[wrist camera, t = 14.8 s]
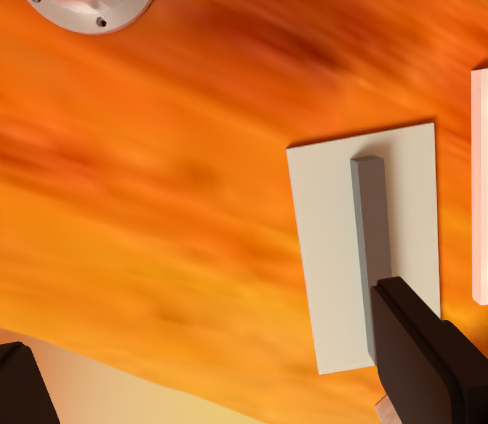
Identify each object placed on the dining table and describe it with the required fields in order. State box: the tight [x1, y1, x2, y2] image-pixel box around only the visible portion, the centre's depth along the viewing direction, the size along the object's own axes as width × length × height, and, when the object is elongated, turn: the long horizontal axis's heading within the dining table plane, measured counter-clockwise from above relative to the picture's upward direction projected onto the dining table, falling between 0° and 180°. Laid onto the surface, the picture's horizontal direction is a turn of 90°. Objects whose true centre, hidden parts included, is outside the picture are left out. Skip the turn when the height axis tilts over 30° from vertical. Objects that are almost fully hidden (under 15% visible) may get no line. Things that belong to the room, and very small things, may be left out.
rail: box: [350, 155, 392, 366], centre depth 39 cm, size 22×2×2 cm, turn 10°
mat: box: [286, 122, 440, 375], centre depth 40 cm, size 26×14×1 cm, turn 10°
